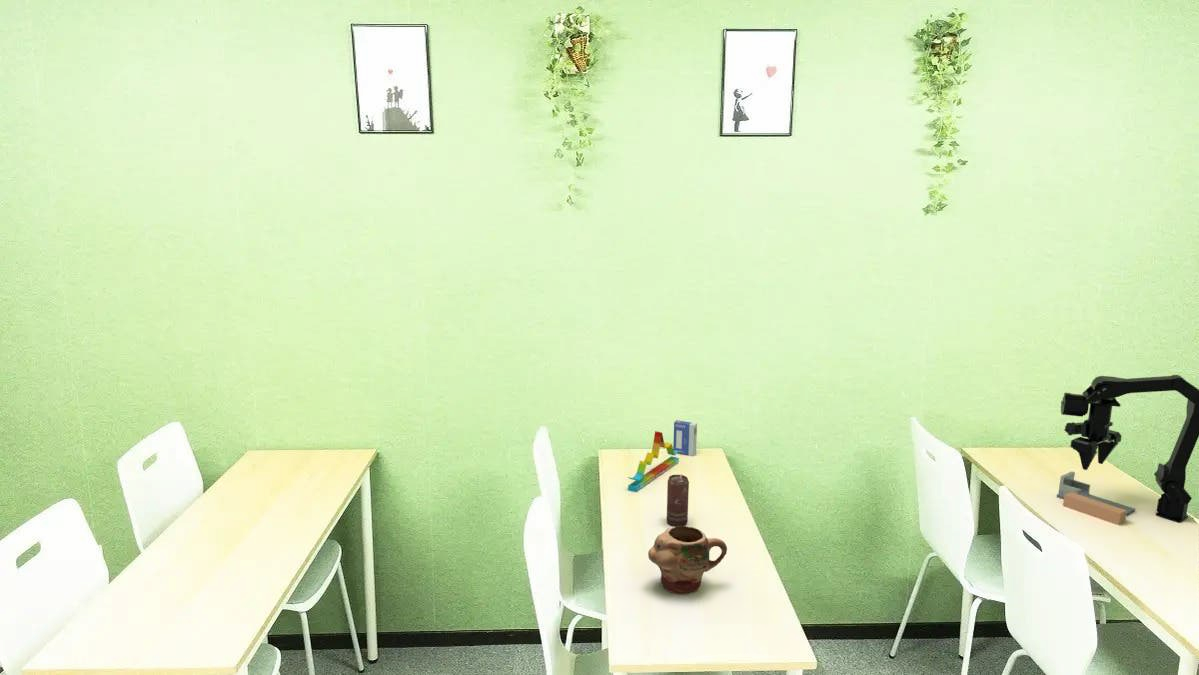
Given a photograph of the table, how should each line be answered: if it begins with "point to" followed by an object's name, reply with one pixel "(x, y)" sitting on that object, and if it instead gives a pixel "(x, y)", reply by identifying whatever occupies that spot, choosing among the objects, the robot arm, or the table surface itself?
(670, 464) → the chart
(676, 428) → the walkman
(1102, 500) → the board
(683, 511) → the can
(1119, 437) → the robot arm
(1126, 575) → the table surface
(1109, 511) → the rail
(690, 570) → the brown sculpted mug
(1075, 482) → the bracket
